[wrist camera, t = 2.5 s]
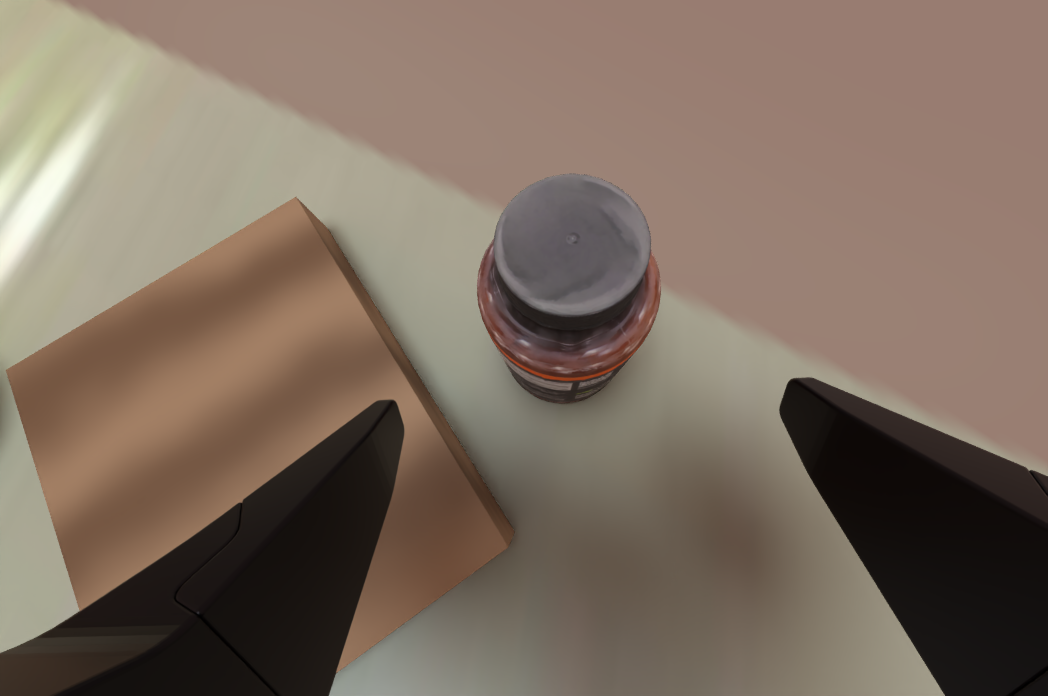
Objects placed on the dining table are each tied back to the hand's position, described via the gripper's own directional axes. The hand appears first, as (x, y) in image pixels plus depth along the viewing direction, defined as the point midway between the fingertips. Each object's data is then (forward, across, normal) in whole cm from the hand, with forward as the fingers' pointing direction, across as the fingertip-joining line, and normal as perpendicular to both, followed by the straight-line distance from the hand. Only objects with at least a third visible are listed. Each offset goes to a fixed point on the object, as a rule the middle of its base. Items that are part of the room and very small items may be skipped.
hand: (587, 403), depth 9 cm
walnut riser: (+7, +15, +8) cm, 18 cm away
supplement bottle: (+11, 0, +5) cm, 12 cm away
